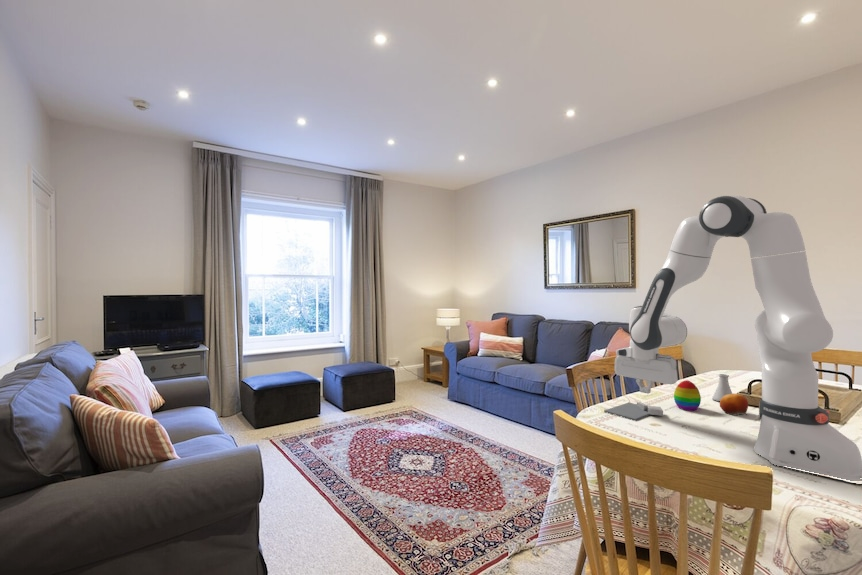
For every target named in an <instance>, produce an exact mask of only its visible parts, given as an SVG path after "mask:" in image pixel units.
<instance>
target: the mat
mask: <svg viewBox="0 0 862 575" xmlns="http://www.w3.org/2000/svg"><path fill="white" fill-rule="evenodd" d="M606 412H608V413H607V414H609V413H612V414H611V415H613V414H616V415H619V416H618V417H620V416H622V417H621V418H624V417H625V418H624V419H627V418H628V420H631V419H632V420H631V421H634V420H636V421H638V420H641V419H643V418H646V417H648V416H651V414H649V412H648V410H642V409H640V408H638V407H637V403H633V402H626V403H624V404H623V403H622V404H619V405H617V406H613V407H611V408H608V409H607V408H606V409H604V413H606ZM616 415H615V416H616Z"/></svg>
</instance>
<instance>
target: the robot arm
mask: <svg viewBox="0 0 862 575" xmlns="http://www.w3.org/2000/svg"><path fill="white" fill-rule="evenodd" d="M729 237H730V238H731V237H733V238H740V237H741V238H743V239H744V240H745V241H746V243H747V245H748V248H749V249H748V250H749V255H750V262H751V267H752V268H751V269H752V274H753V279H754V286H755V289H756V291H757V293H758V294H759V297H760V299H761V303H762V306H763V308H764V310H763V311H761V312H760V313H759V314H757V316H756V317H755V320H754V328H755V332H756V339H757V341H756V342H757V347H758V348H757V349H758V353H759V359H760V360H759V361H760V366H761V398H760V399H759V403H758V415H759V419H760V421H759V422H760V424H759V430H758V435H757V438H756V441H755V444H754V447H753V451H754V452H755V453H756V454H757V455H758V454H759V456H760V455H761V456H760V457H762V458H764V459H766V460H767V461H768V460H769V461H770V462H771V463H770V462H769V461H768V462H769V463H770V464H772V465H773V464H774V466H776V465H777V466H776V467H779V466H787V467H791V468H796V469H801V470H805V471H809V472H814V473H819V474H824V475H829V476H833V477H837V478H841V479H846V480H850V481H862V479H860V478H862V455H861V452H860V449H859V447H858V445H857V443H855V442H854V441H853V440H852V439H850V438H848V437H847V436H845V435H844V434H843V433H841V432H840V431H839V430H838V429H836V428H835V427H833V426H832V425H831V424H830V409H829V410H825V409H824V408H822V407H821V406H820V405H819V375H818V372H817V370H816V368H815V365H814V361H813V357H812V356H813V355H812V354H813V353H817V352H820V351H823V350H824V349H826V348H827V347H829V345H830V344H831V343H832V342H833V341H832V340H833V337H834V331H833V327H832V326H831V324H830V322H829V321H828V320H827V318H826V316H825V314H824V312H823V308H822V306H821V303H820V301H819V298H818V296H817V293H816V291H815V289H814V286H813V283H812V279H811V275H810V269H809V263H808V258H807V252H806V247H805V242H804V239H803V236H802V232H801V230H800V226H799V225H798V223H797V221H796V219H795V217H794V216H793V215H792V214H790V213H787V212H779V211H778V212H775V211H774V212H769V213H767V210H766V207H765V206H764V205H763V203H761V202H760V201H758V200H756V199H754V198H751V197H745V196H741V195H723V196H722V195H721V196H717V197H715V198H712V199H711V200H708V201H707V202H706V203H705V204H704V205H703V206H702V208H701V209H700V211H699V215H695V216H689V217H685V218H684V219H683V220H682V221H680V223H679V225H678V228H677V229H676V232H675V233H674V236H673V238H672V242H671V244H670V248H669V250H668V253H667V256H666V259H665V260H664V263H663V265H662V267H661V268H660V270H659V271H658V272H657V273H656V275H655V276H654V278H653V280H652V282H651V284H650V287H649V289H648V291H647V294H646V296H645V299H644V300H643V304H642V305H637V306H634V307H633V308H631V310H630V311H629V319H628V332H629V335H630V338H629V339H630V340H629V346H625V347H623V348H619V349H616V350H615V355H616V357H615V358H614V373H615V374H616V375H617V376H621V377H625V378H631V379H635V383H636V384H637V386H638V387H639V393H643V394H651V391H652V389H651V388H652V387H653V386H654V384H655V383H660V384H665V385H674V384H676V383H677V382H678V371H677V360H676V359H675V358H674V357H673V356H672V355H668V354H667V355H666V354H660V352H659V350H660V349H659V348H665V347H671V346H678V345H680V344H682V343H683V342H685V340H686V338H687V336H688V328H687V325H686V323H685V321H683V319H681V318H680V317H677V316H672V315H671V314H668V313H665V311H666V308H667V306H668V303H669V302H670V299H671V297H672V296H673V295H674V293H676V292H677V291H678V290H680V289H681V288H683V287H685V286H687V285H689V284H691V283H694V282H696V281H698V280H699V279H701V278H702V277H703V276H704V275H705V272H706V271H707V269H708V267H709V265H710V262H711V259H712V254H713V252H714V248H715V247H716V244H717V242H718V241H719V240H720V239H722V238H729ZM644 381H646V384H647V385H646V386H645V385H644V383H643V382H644Z"/></svg>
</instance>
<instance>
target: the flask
mask: <svg viewBox="0 0 862 575" xmlns="http://www.w3.org/2000/svg"><path fill="white" fill-rule="evenodd" d="M718 377H719V378H718V379H719V380H718V385H717V387H716V389H715V392H714V394H713V396H712V398H711V400H712V399H713V400H712V401H715V400H716V402H718V401H720V400H721V398H722V397H723V396H725V395H728V394H733V392H732V389H731V387H730V383H729V377H730V374H725V373H720V374H718Z"/></svg>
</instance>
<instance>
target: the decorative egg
mask: <svg viewBox="0 0 862 575" xmlns="http://www.w3.org/2000/svg"><path fill="white" fill-rule="evenodd" d="M673 392H674V393H673V400H674V402H675V406H676V407H677V408H679V409H680V408H681V410H683V411H696V410H697V409H698V408H699V407H700V406H701V401H702V400H701V399H702V397H701V393H700V391H699V389H698V387H697V386H696V385H695V383H693V382H692V381H691V380H682V381H681V382H679V384H678V385H677V386H676V387H675V389H674V391H673Z"/></svg>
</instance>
